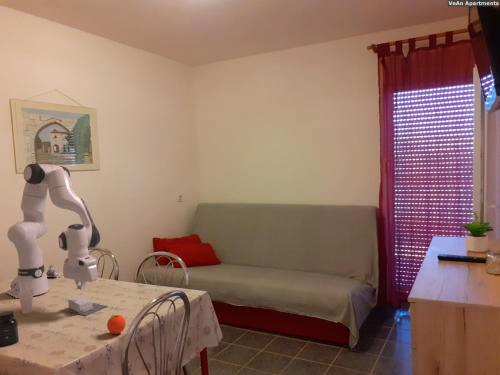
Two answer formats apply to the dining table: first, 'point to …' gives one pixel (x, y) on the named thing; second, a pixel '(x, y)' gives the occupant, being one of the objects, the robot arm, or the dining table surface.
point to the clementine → (116, 324)
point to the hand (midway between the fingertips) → (81, 289)
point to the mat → (95, 308)
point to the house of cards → (51, 272)
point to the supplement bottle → (8, 329)
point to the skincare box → (80, 304)
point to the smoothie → (26, 300)
